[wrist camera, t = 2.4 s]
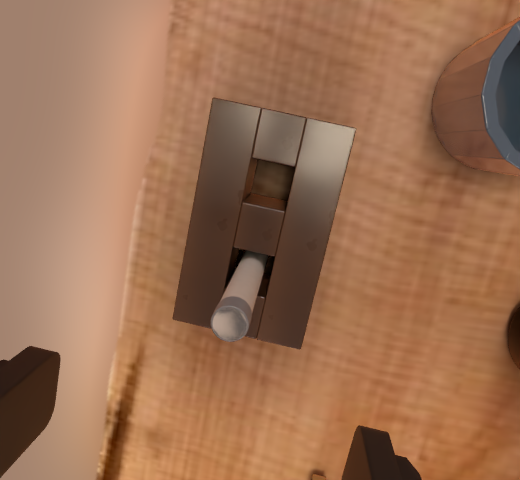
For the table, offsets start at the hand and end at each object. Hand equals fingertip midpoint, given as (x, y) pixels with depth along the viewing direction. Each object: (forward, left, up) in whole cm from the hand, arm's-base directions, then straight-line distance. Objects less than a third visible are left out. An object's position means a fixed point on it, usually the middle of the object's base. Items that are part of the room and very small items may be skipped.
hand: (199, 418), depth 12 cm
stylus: (0, 0, -19) cm, 19 cm away
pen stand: (-1, +2, -19) cm, 19 cm away
